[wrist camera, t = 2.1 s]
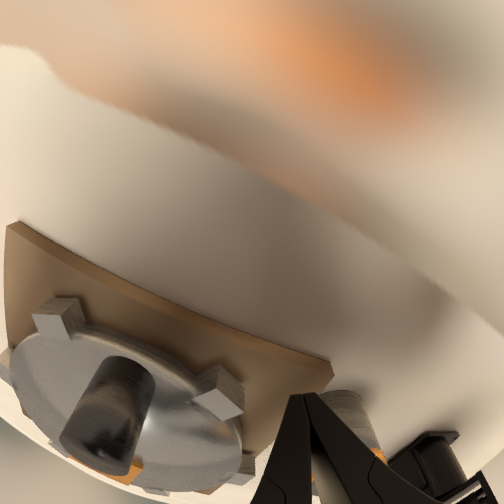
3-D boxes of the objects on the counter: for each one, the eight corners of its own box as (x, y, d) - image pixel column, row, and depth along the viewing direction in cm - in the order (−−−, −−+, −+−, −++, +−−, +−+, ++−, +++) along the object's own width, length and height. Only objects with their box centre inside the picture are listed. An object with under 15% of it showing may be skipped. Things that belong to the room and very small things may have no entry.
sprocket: (316, 393, 12) (341, 493, 7) (208, 494, 16) (204, 548, 11) (5, 250, 9) (-75, 299, 4) (23, 413, 14) (-5, 458, 8)
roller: (375, 395, 14) (403, 460, 9) (335, 434, 15) (351, 495, 10) (320, 383, 13) (342, 460, 9) (282, 425, 14) (290, 495, 10)
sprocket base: (329, 362, 13) (335, 377, 12) (210, 486, 18) (209, 495, 17) (18, 220, 10) (5, 226, 9) (28, 406, 15) (22, 414, 14)
